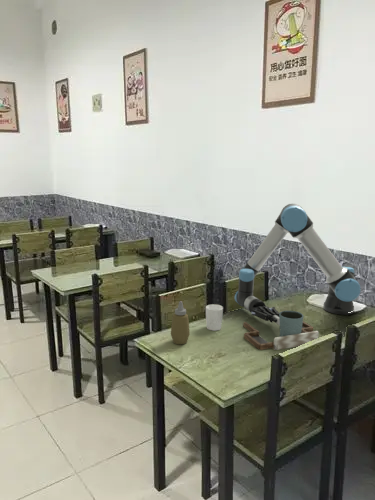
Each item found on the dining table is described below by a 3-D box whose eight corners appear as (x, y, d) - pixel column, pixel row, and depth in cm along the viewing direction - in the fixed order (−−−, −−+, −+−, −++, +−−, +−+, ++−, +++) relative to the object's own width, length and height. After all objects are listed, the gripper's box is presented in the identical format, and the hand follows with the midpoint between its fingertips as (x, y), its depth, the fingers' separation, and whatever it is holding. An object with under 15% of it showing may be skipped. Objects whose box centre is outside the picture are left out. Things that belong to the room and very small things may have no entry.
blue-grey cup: (293, 347, 173) (296, 320, 171) (272, 340, 180) (274, 314, 178) (305, 340, 181) (308, 314, 178) (285, 333, 187) (287, 308, 185)
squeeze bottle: (167, 339, 179) (168, 299, 176) (185, 336, 182) (185, 297, 179) (174, 347, 172) (175, 305, 168) (192, 344, 175) (193, 303, 171)
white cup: (221, 332, 188) (222, 311, 186) (203, 330, 190) (204, 309, 188) (223, 325, 196) (224, 305, 194) (206, 323, 197) (207, 303, 195)
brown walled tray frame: (292, 319, 205) (293, 309, 204) (329, 340, 181) (330, 329, 180) (231, 327, 193) (232, 317, 192) (262, 352, 169) (263, 340, 168)
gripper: (266, 311, 208) (294, 329, 187) (243, 314, 203) (269, 333, 182) (267, 297, 206) (295, 313, 185) (243, 300, 202) (270, 317, 180)
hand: (282, 323), depth 183 cm, fingers closed
